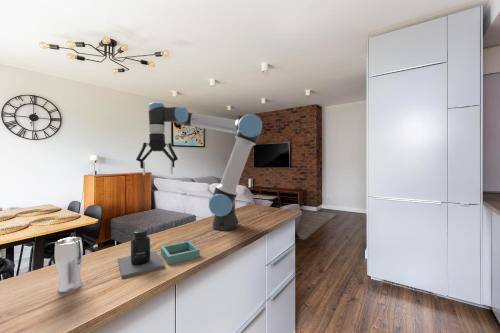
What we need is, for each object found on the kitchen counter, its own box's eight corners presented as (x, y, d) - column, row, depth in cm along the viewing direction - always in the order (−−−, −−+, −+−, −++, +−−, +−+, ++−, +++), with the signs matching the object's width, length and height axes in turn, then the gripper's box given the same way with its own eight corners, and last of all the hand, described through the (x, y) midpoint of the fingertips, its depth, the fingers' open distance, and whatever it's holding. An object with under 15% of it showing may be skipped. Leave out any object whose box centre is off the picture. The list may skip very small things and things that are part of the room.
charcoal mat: (155, 253, 101) (155, 250, 101) (164, 267, 87) (164, 265, 87) (117, 261, 93) (117, 258, 93) (121, 278, 80) (121, 275, 80)
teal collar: (189, 247, 107) (189, 240, 107) (199, 256, 97) (199, 249, 97) (160, 253, 100) (160, 246, 100) (168, 264, 90) (168, 256, 90)
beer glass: (53, 296, 70) (51, 246, 69) (59, 284, 76) (57, 238, 76) (82, 289, 73) (80, 242, 73) (85, 279, 79) (83, 235, 79)
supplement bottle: (138, 267, 86) (137, 234, 85) (127, 263, 89) (126, 231, 89) (154, 260, 92) (153, 229, 91) (143, 256, 95) (142, 226, 94)
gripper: (179, 135, 133) (179, 172, 134) (129, 132, 120) (130, 174, 121) (183, 134, 127) (183, 173, 128) (131, 131, 113) (132, 175, 114)
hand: (158, 174), depth 124 cm, fingers open, 13 cm apart
